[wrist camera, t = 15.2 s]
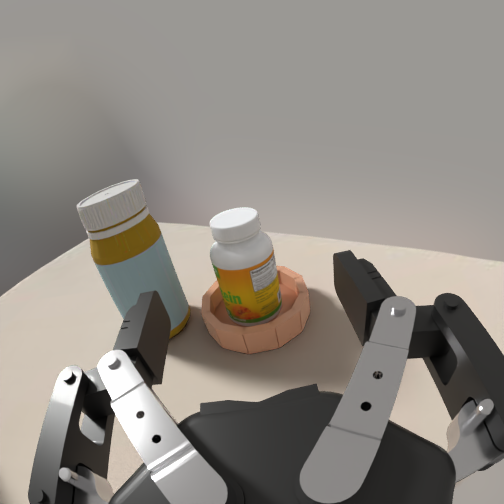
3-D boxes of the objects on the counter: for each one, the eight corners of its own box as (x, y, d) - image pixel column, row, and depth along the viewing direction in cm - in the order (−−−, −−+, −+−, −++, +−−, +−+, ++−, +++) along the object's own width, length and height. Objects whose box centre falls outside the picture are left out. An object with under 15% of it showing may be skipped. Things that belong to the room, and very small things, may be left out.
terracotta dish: (288, 362, 22) (285, 343, 21) (190, 339, 27) (182, 320, 25) (319, 288, 30) (318, 269, 28) (236, 279, 34) (231, 262, 33)
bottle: (123, 343, 27) (58, 215, 20) (149, 302, 33) (102, 186, 26) (179, 348, 26) (114, 200, 19) (200, 302, 32) (157, 172, 24)
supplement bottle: (217, 312, 28) (189, 223, 24) (257, 285, 31) (238, 200, 26) (252, 337, 24) (225, 238, 20) (294, 304, 27) (280, 210, 22)
